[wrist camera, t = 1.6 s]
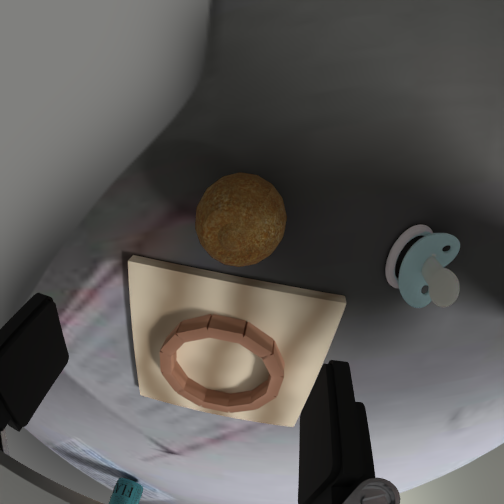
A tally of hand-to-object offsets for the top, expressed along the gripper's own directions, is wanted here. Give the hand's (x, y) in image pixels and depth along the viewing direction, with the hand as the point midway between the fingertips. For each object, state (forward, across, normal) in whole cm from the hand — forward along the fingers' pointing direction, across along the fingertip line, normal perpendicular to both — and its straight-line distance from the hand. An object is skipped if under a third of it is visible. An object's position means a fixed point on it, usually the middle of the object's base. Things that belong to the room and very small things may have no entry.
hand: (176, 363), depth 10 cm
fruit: (+18, 0, 0) cm, 18 cm away
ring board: (+18, 0, +17) cm, 25 cm away
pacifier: (+18, -16, +2) cm, 24 cm away
